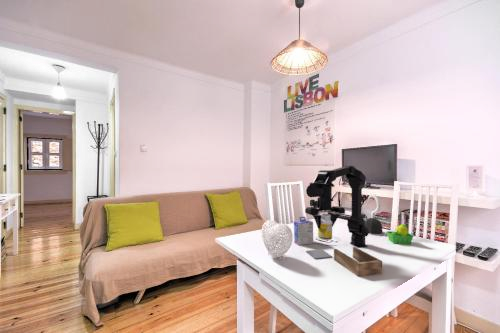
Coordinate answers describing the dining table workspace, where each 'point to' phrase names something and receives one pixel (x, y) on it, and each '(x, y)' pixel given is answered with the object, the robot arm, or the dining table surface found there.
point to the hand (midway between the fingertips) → (324, 228)
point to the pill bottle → (325, 227)
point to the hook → (374, 220)
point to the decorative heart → (276, 238)
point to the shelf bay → (365, 264)
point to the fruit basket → (400, 235)
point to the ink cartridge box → (303, 231)
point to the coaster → (319, 254)
